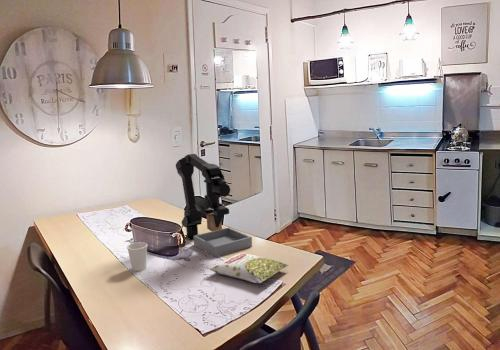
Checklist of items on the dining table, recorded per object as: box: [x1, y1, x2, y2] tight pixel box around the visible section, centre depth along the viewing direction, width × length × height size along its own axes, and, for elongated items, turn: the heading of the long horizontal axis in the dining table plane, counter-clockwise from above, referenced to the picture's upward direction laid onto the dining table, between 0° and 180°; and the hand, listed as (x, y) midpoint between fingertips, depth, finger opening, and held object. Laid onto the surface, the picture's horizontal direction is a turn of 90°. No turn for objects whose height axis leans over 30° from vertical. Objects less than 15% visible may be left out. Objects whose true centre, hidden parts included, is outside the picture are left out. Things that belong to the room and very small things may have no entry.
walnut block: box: [205, 213, 223, 232], centre depth 192 cm, size 5×5×7 cm
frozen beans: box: [208, 252, 289, 284], centre depth 165 cm, size 21×6×25 cm
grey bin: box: [193, 226, 253, 257], centre depth 197 cm, size 20×20×4 cm
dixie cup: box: [126, 241, 148, 272], centre depth 174 cm, size 8×8×10 cm
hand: (214, 225), depth 193 cm, fingers closed on walnut block, 5 cm apart
